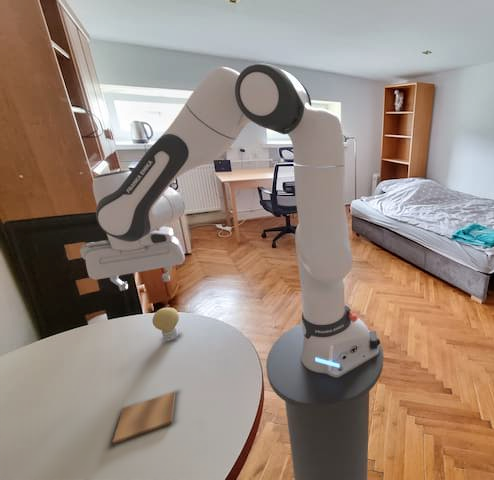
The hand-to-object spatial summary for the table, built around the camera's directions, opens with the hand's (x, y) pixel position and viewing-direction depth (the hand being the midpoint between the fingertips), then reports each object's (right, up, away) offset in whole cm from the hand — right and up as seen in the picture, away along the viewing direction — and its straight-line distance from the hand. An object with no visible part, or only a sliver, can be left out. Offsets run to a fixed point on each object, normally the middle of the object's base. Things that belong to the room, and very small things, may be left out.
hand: (146, 284), depth 77 cm
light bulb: (+1, -17, +9) cm, 20 cm away
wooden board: (+11, -27, -15) cm, 32 cm away
